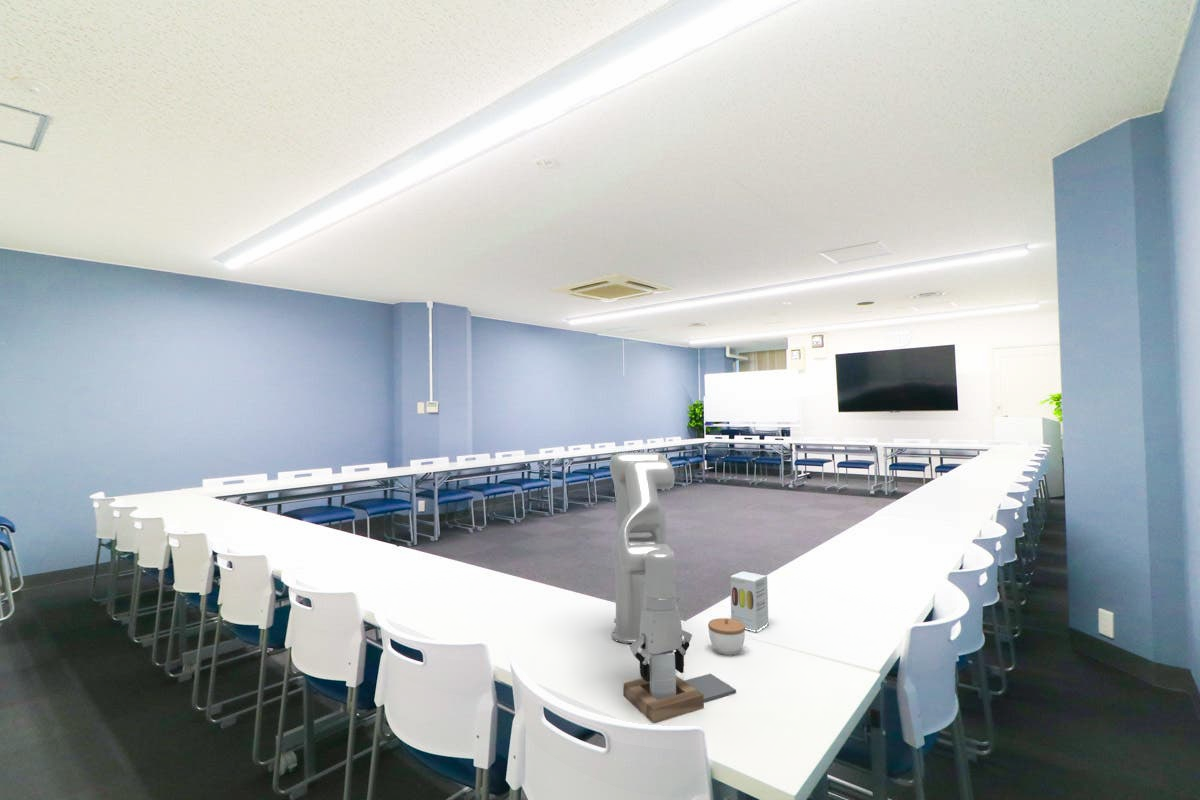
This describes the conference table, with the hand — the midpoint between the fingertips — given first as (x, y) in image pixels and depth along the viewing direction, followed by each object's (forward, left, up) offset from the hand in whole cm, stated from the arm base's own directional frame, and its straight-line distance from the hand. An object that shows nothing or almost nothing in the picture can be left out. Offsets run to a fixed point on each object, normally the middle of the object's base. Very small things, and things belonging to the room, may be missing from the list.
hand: (662, 675), depth 125 cm
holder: (0, 0, -6) cm, 6 cm away
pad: (0, +14, -6) cm, 15 cm away
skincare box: (0, 0, -7) cm, 7 cm away
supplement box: (-28, +54, -7) cm, 61 cm away
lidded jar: (-16, +34, -7) cm, 38 cm away
